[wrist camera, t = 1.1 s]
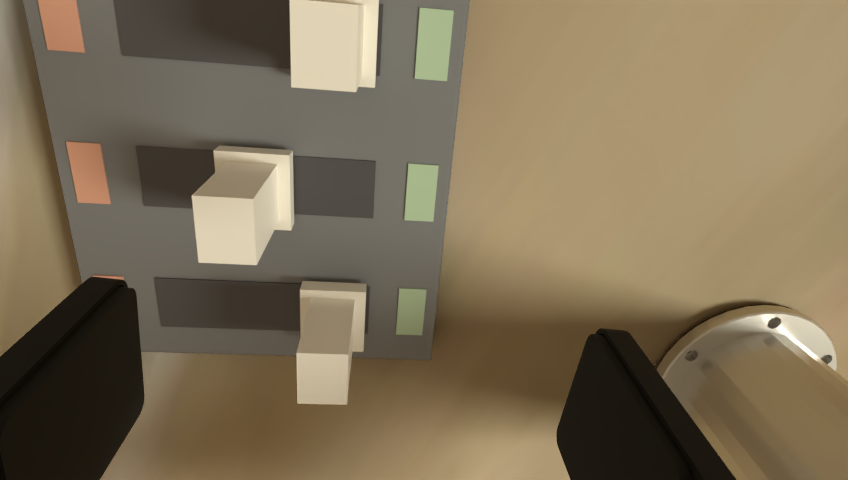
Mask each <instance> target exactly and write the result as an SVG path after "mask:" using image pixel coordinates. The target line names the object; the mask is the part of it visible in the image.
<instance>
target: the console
mask: <svg viewBox="0 0 848 480" xmlns="http://www.w3.org/2000/svg"><path fill="white" fill-rule="evenodd" d="M469 1H470V0H379V13H378V36H377V59H376V81H375V88H369V87H358V89H357V92H346V91H333V90H319V89H306V88H293V87H291V52H290V1H289V0H23V4H24V9H25V13H26V18H27V23H28V28H29V32H30V37H31V42H32V47H33V52H34V56H35V61H36V66H37V71H38V76H39V80H40V85H41V90H42V95H43V100H44V104H45V109H46V114H47V119H48V123H49V128H50V133H51V138H52V143H53V147H54V152H55V157H56V162H57V167H58V171H59V176H60V181H61V186H62V191H63V195H64V200H65V205H66V210H67V214H68V219H69V224H70V229H71V234H72V238H73V243H74V248H75V253H76V258H77V262H78V267H79V272H80V277H81V282H82V283H83V282H85V281H86V280H87V279H88V278H90V277H102V278H111V279H121V280H124V281H126V283H127V285H128V288H133V289H135V291H136V295H137V307H138V320H139V333H140V346H141V351H142V352H175V353H209V354H242V355H276V356H296V353H297V349H298V345H299V341H300V338H301V332H300V288H301V284H302V281H317V282H341V283H364V284H367V286H366V309H365V332H364V350H363V352H352V358H376V359H409V360H431V352H432V343H433V334H434V325H435V315H436V306H437V297H438V288H439V278H440V269H441V260H442V251H443V241H444V232H445V223H446V214H447V204H448V195H449V186H450V177H451V167H452V158H453V149H454V140H455V130H456V121H457V112H458V103H459V93H460V84H461V75H462V66H463V56H464V47H465V38H466V29H467V19H468V10H469ZM219 145H220V146H236V147H251V148H267V149H282V150H293V183H294V225H293V227H292V230H291V231H289V230H274V232H273V234H272V236H271V238H270V240H269V242H268V244H267V246H266V248H265V250H264V252H263V254H262V256H261V258H260V260H259V262H258V263H257V265H240V264H218V263H199V262H198V253H197V243H196V233H195V224H194V214H193V204H192V195H193V194H194V193H195V192H196V191H197V190H198V189H199V188H200V187H201V186H202V185H203V184H204V183H205V182H206V181H207V180H208V179H209V178H210V177H211V176H212V175H213V174H214V173H215V164H214V152H213V150H215V149H216V148H217V147H218V146H219Z"/></svg>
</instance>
